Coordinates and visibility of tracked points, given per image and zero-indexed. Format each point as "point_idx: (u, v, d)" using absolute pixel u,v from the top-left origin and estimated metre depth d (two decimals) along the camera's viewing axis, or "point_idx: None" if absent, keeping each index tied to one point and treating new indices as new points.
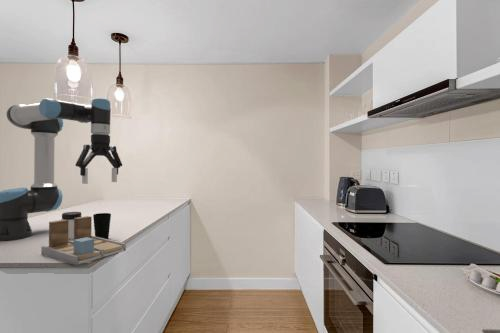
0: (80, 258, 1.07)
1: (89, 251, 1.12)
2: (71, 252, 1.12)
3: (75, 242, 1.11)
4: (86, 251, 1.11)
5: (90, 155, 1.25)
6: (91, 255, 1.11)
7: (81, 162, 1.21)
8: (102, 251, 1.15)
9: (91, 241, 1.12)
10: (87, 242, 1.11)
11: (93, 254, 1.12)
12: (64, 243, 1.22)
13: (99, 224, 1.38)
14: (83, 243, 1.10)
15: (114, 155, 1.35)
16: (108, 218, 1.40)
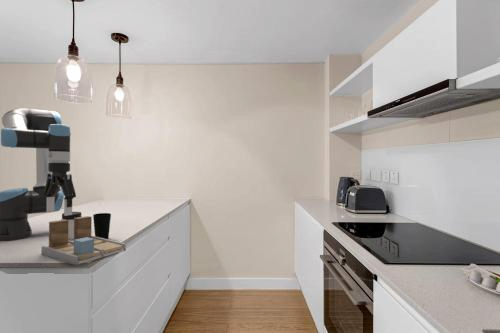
0: (80, 258, 1.07)
1: (89, 251, 1.12)
2: (71, 252, 1.12)
3: (75, 242, 1.11)
4: (86, 251, 1.11)
5: None
6: (91, 255, 1.11)
7: (44, 191, 1.25)
8: (102, 251, 1.15)
9: (91, 241, 1.12)
10: (87, 242, 1.11)
11: (93, 254, 1.12)
12: (64, 243, 1.22)
13: (99, 224, 1.38)
14: (83, 243, 1.10)
15: None
16: (108, 218, 1.40)
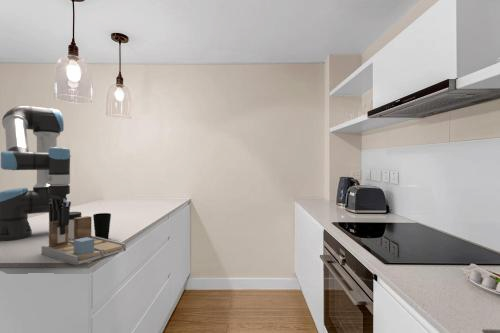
0: (80, 258, 1.07)
1: (89, 251, 1.12)
2: (71, 252, 1.12)
3: (75, 242, 1.11)
4: (86, 251, 1.11)
5: None
6: (91, 255, 1.11)
7: (49, 219, 1.23)
8: (102, 251, 1.15)
9: (91, 241, 1.12)
10: (87, 242, 1.11)
11: (93, 254, 1.12)
12: (64, 243, 1.22)
13: (99, 224, 1.38)
14: (83, 243, 1.10)
15: None
16: (108, 218, 1.40)
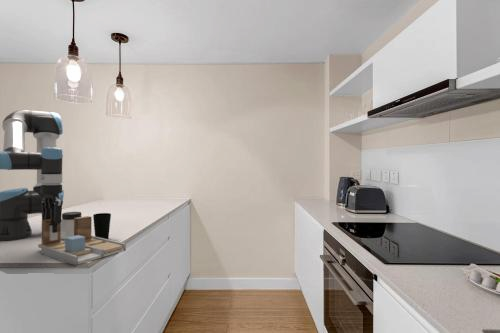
0: None
1: (80, 248, 1.15)
2: (63, 249, 1.15)
3: (66, 240, 1.14)
4: (77, 248, 1.14)
5: None
6: (82, 252, 1.14)
7: (42, 217, 1.26)
8: (102, 251, 1.15)
9: (82, 239, 1.15)
10: (78, 239, 1.14)
11: (84, 251, 1.15)
12: (56, 241, 1.25)
13: (99, 224, 1.38)
14: (74, 241, 1.13)
15: None
16: (108, 218, 1.40)
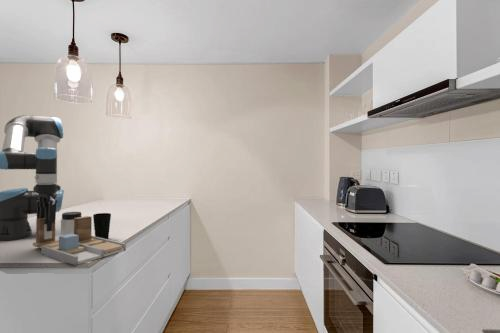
0: None
1: (74, 247, 1.17)
2: (56, 248, 1.18)
3: (60, 238, 1.16)
4: (71, 247, 1.16)
5: None
6: (75, 250, 1.16)
7: (37, 216, 1.28)
8: (102, 251, 1.15)
9: (76, 237, 1.18)
10: (71, 238, 1.16)
11: (77, 250, 1.17)
12: (51, 239, 1.27)
13: (99, 224, 1.38)
14: (68, 239, 1.15)
15: None
16: (108, 218, 1.40)
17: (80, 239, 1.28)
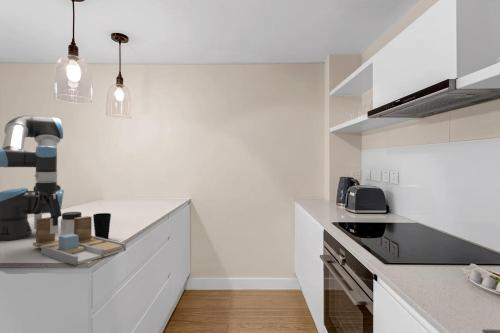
0: None
1: (73, 247, 1.17)
2: (56, 248, 1.18)
3: (60, 238, 1.16)
4: (70, 246, 1.16)
5: None
6: (75, 250, 1.16)
7: (32, 208, 1.30)
8: (102, 251, 1.15)
9: (75, 237, 1.18)
10: (71, 238, 1.16)
11: (77, 249, 1.17)
12: (51, 239, 1.27)
13: (99, 224, 1.38)
14: (67, 239, 1.15)
15: None
16: (108, 218, 1.40)
17: (80, 239, 1.28)
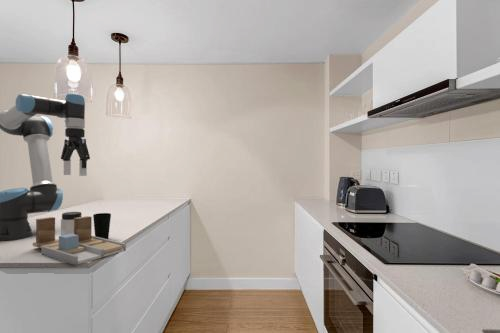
0: None
1: (73, 247, 1.17)
2: (56, 248, 1.18)
3: (60, 238, 1.16)
4: (70, 246, 1.16)
5: None
6: (75, 250, 1.16)
7: (62, 155, 1.37)
8: (102, 251, 1.15)
9: (75, 237, 1.18)
10: (71, 238, 1.16)
11: (77, 249, 1.17)
12: (51, 239, 1.27)
13: (99, 224, 1.38)
14: (67, 239, 1.15)
15: None
16: (108, 218, 1.40)
17: (80, 239, 1.28)
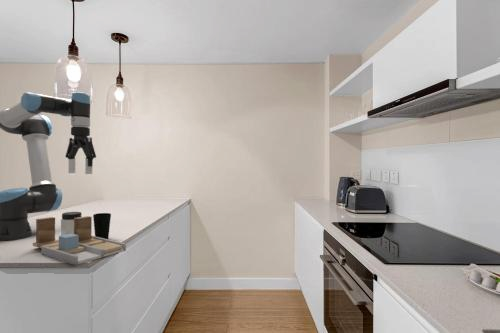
0: None
1: (73, 247, 1.17)
2: (56, 248, 1.18)
3: (60, 238, 1.16)
4: (70, 246, 1.16)
5: None
6: (75, 250, 1.16)
7: (66, 154, 1.38)
8: (102, 251, 1.15)
9: (75, 237, 1.18)
10: (71, 238, 1.16)
11: (77, 249, 1.17)
12: (51, 239, 1.27)
13: (99, 224, 1.38)
14: (67, 239, 1.15)
15: None
16: (108, 218, 1.40)
17: (80, 239, 1.28)
